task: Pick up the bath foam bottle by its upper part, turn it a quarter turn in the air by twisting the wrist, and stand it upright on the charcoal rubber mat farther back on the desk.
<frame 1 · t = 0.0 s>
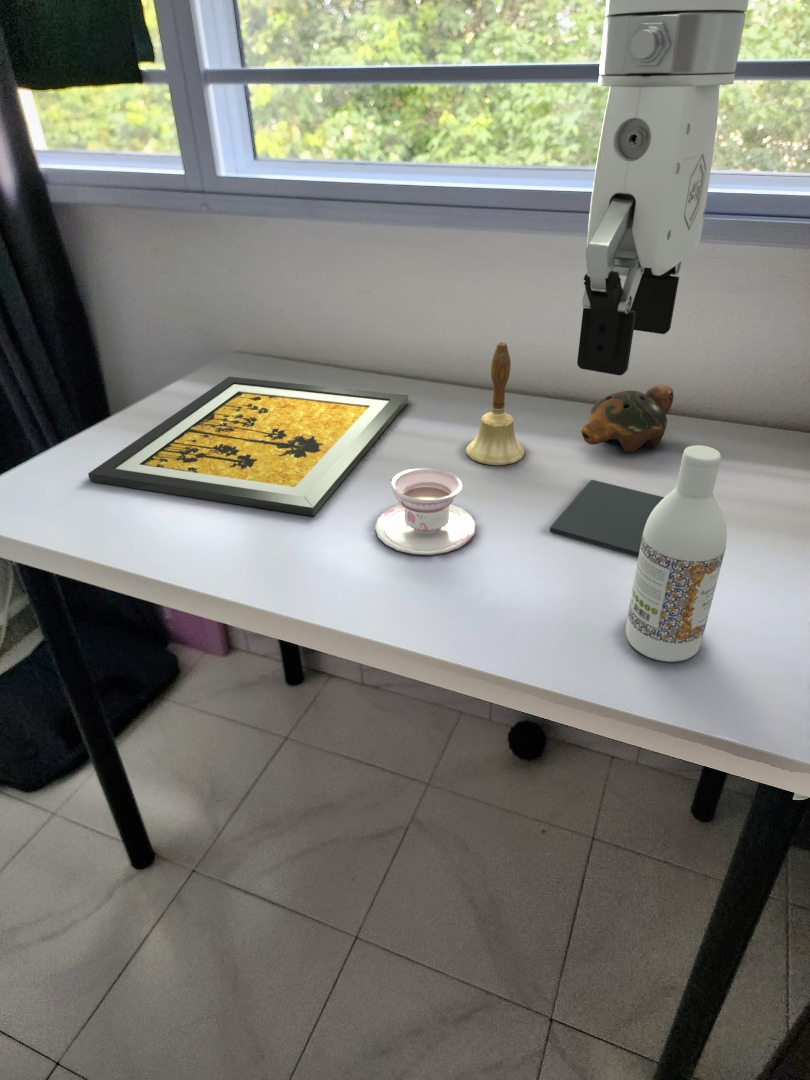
hand: (625, 349, 52), 30 cm above the table, tool pointing down, fingers open, 9 cm apart
teacup: (425, 530, 90), on the table
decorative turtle: (624, 445, 109), on the table
mat: (625, 520, 91), on the table
bath foam: (661, 641, 72), on the table
hand bell: (495, 453, 107), on the table
picture frame: (264, 438, 112), on the table
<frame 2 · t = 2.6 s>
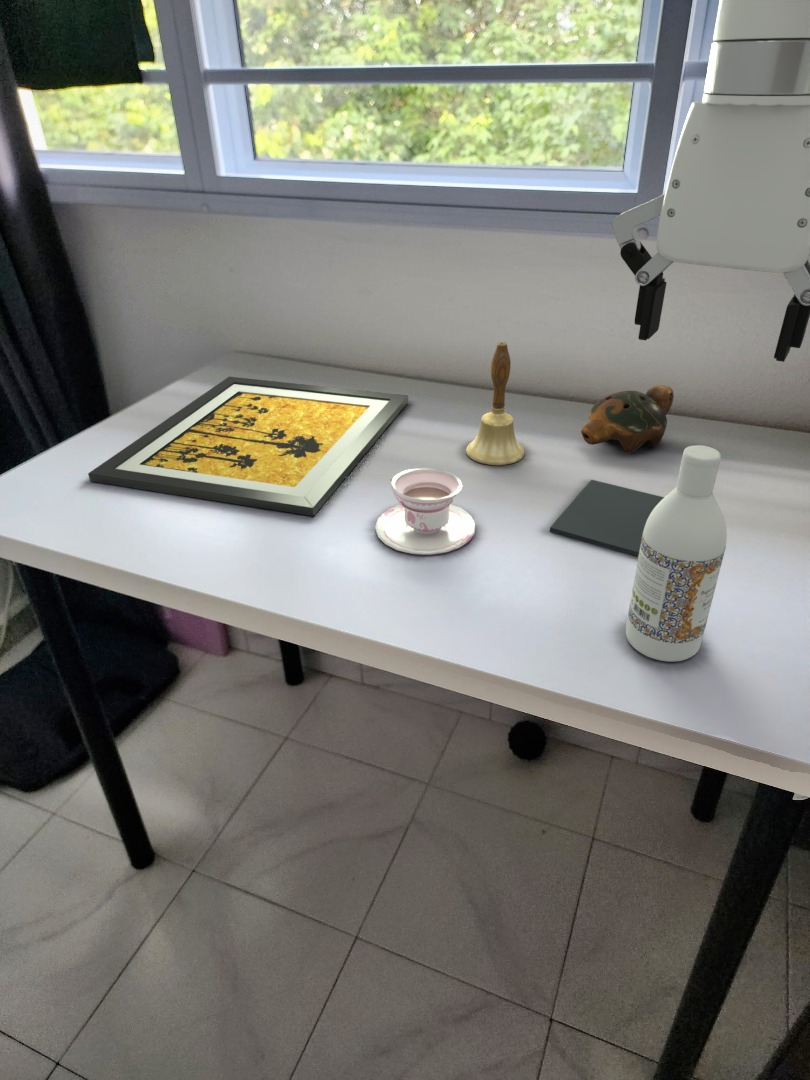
hand: (712, 345, 56), 29 cm above the table, tool pointing down, fingers open, 9 cm apart
nothing on the table moved.
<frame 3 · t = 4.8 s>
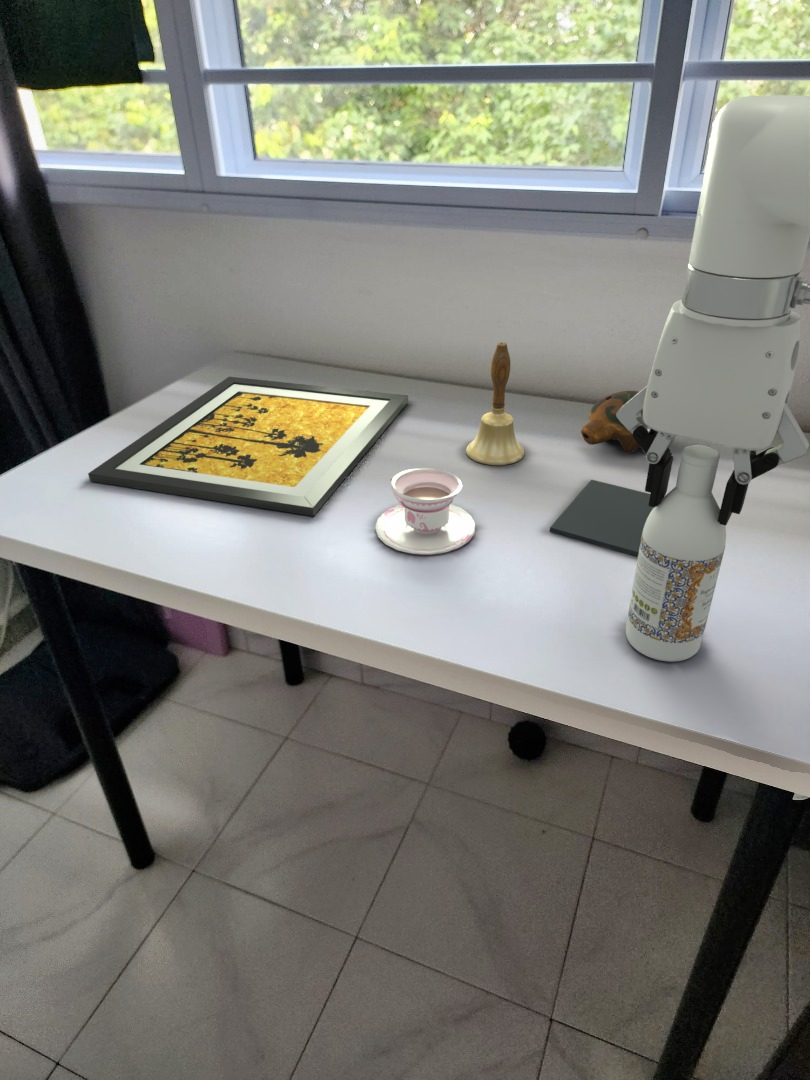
hand: (690, 507, 64), 15 cm above the table, tool pointing down, fingers closed on bath foam, 5 cm apart
bath foam: (661, 641, 72), on the table, touching gripper
everything else where it was.
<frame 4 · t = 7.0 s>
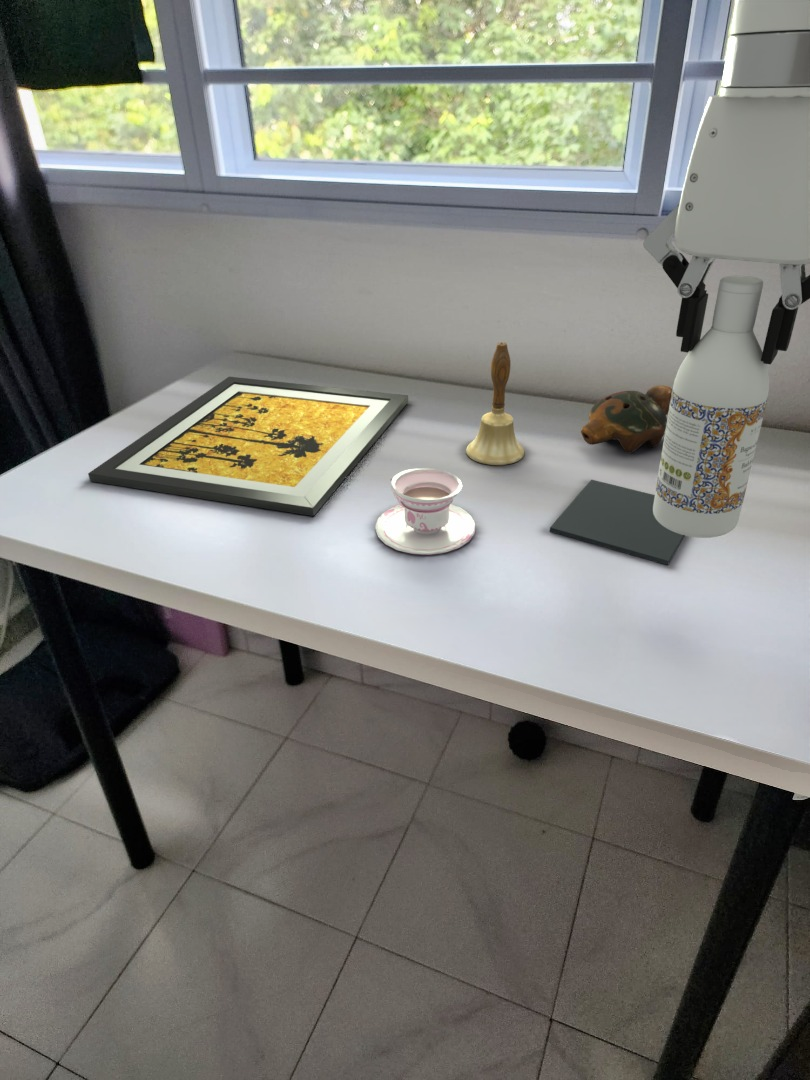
hand: (728, 350, 56), 29 cm above the table, tool pointing down, fingers closed on bath foam, 5 cm apart
bath foam: (693, 521, 64), point 14 cm above the table, touching gripper
everything else where it was.
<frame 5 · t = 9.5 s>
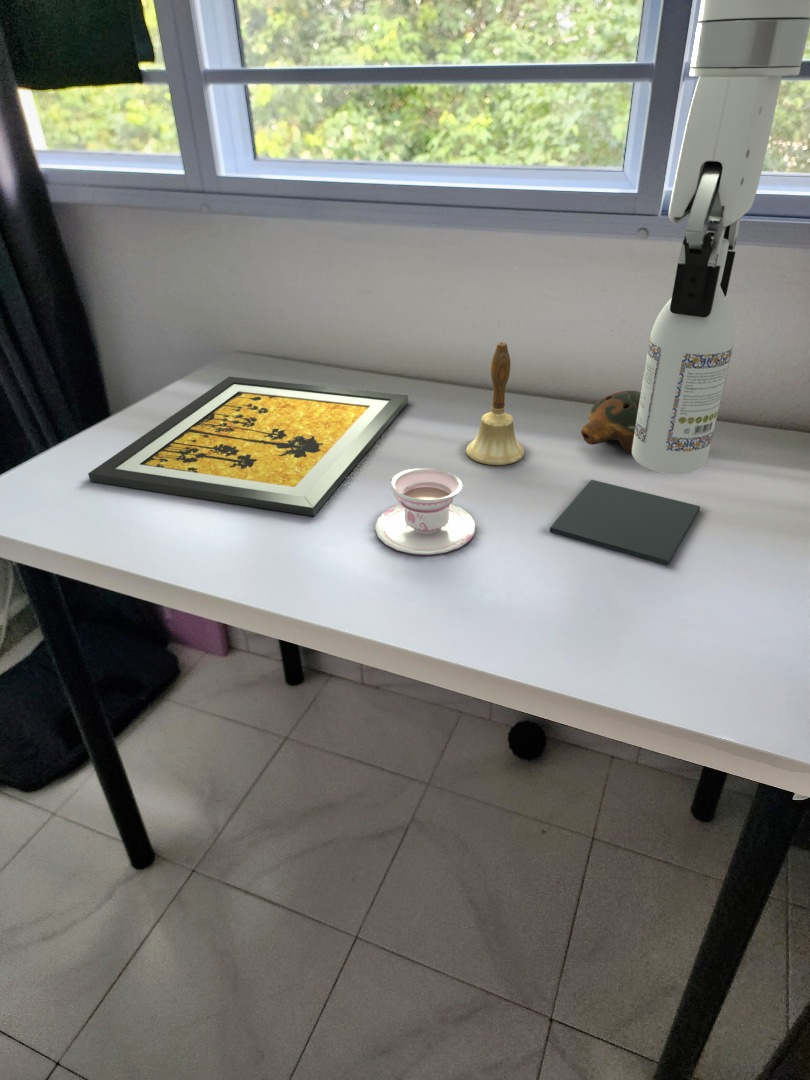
hand: (698, 303, 64), 30 cm above the table, tool pointing down, fingers closed on bath foam, 5 cm apart
bath foam: (667, 461, 72), point 15 cm above the table, touching gripper
everything else where it was.
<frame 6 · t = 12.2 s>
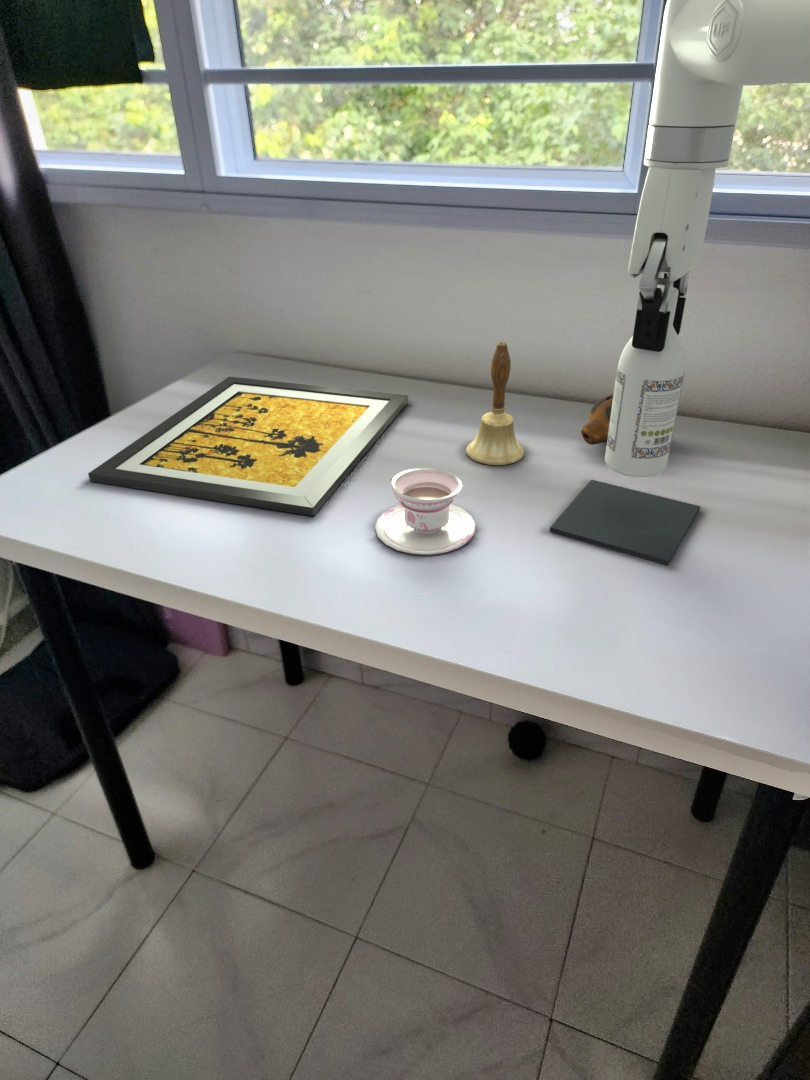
hand: (656, 339, 79), 22 cm above the table, tool pointing down, fingers closed on bath foam, 5 cm apart
bath foam: (634, 466, 87), point 7 cm above the table, touching gripper
everything else where it was.
when the fingers open (15 cm above the table, at t = 14.2 s): bath foam stays where it is, resting on mat.
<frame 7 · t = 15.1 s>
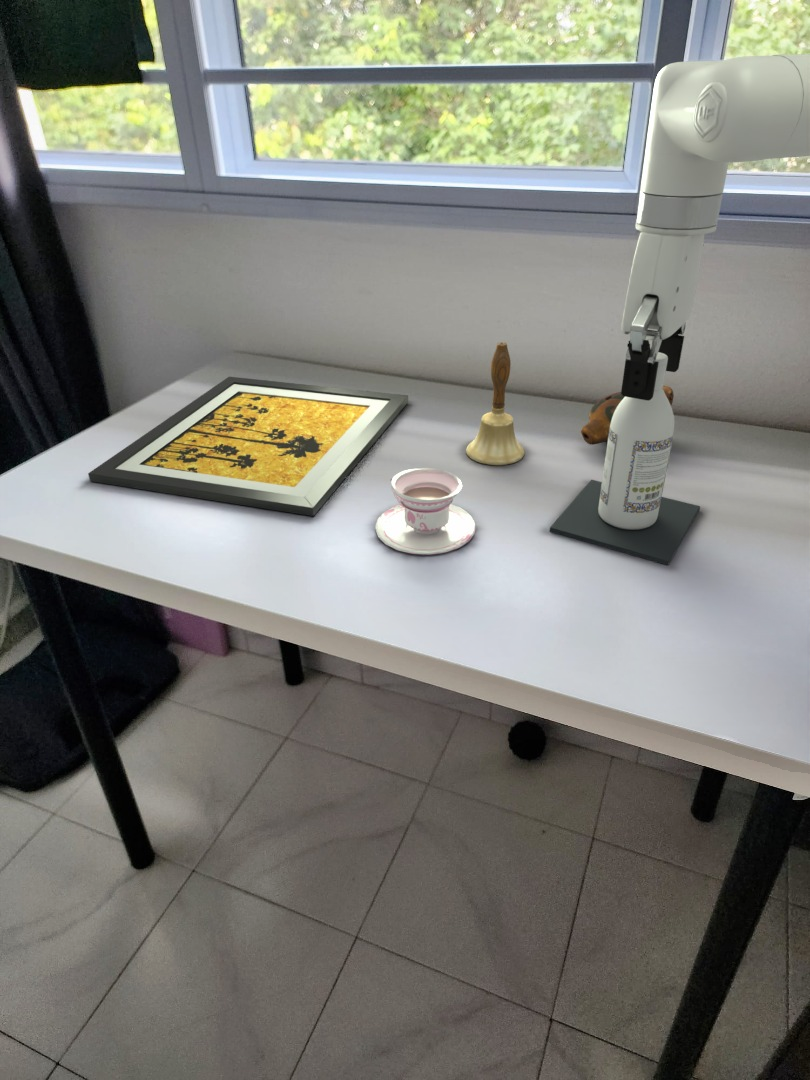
hand: (650, 382, 81), 18 cm above the table, tool pointing down, fingers open, 9 cm apart
bath foam: (626, 518, 90), resting on mat
everything else where it was.
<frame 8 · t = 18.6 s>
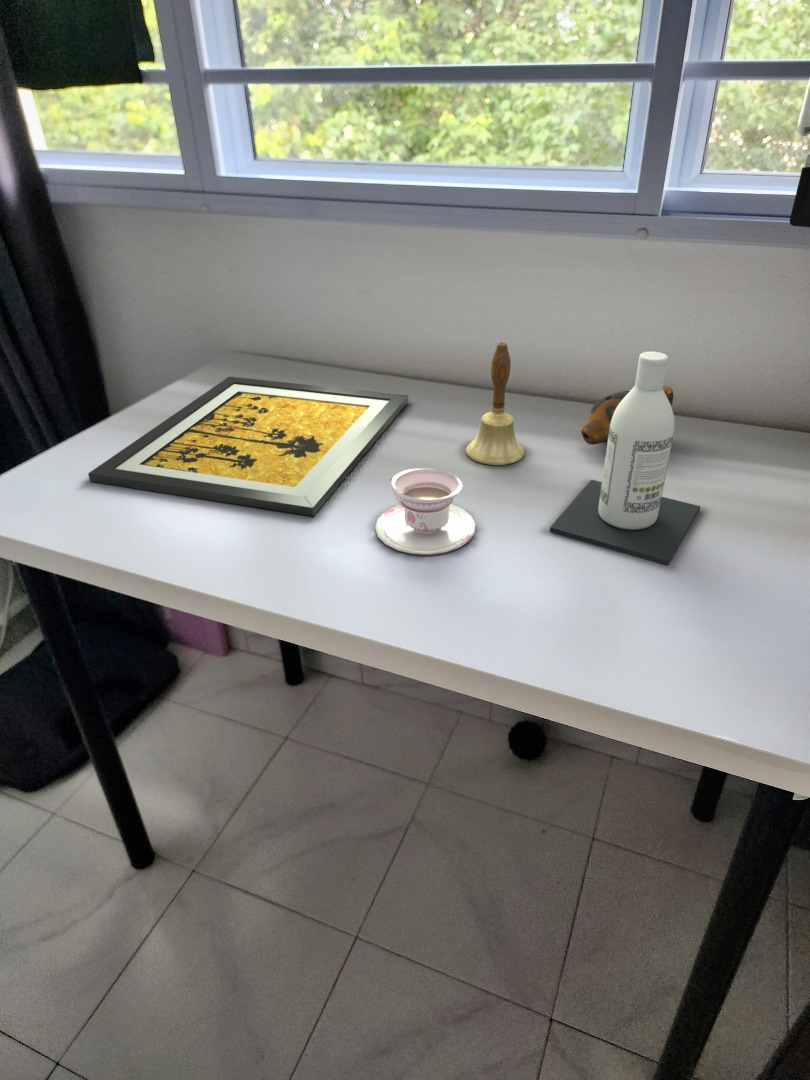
nothing on the table moved.
at the end: bath foam inside the target area on the mat (0.1 cm from its centre), point 0.4 cm above the mat's base; bath foam tilted 0°; the gripper is holding nothing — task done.
